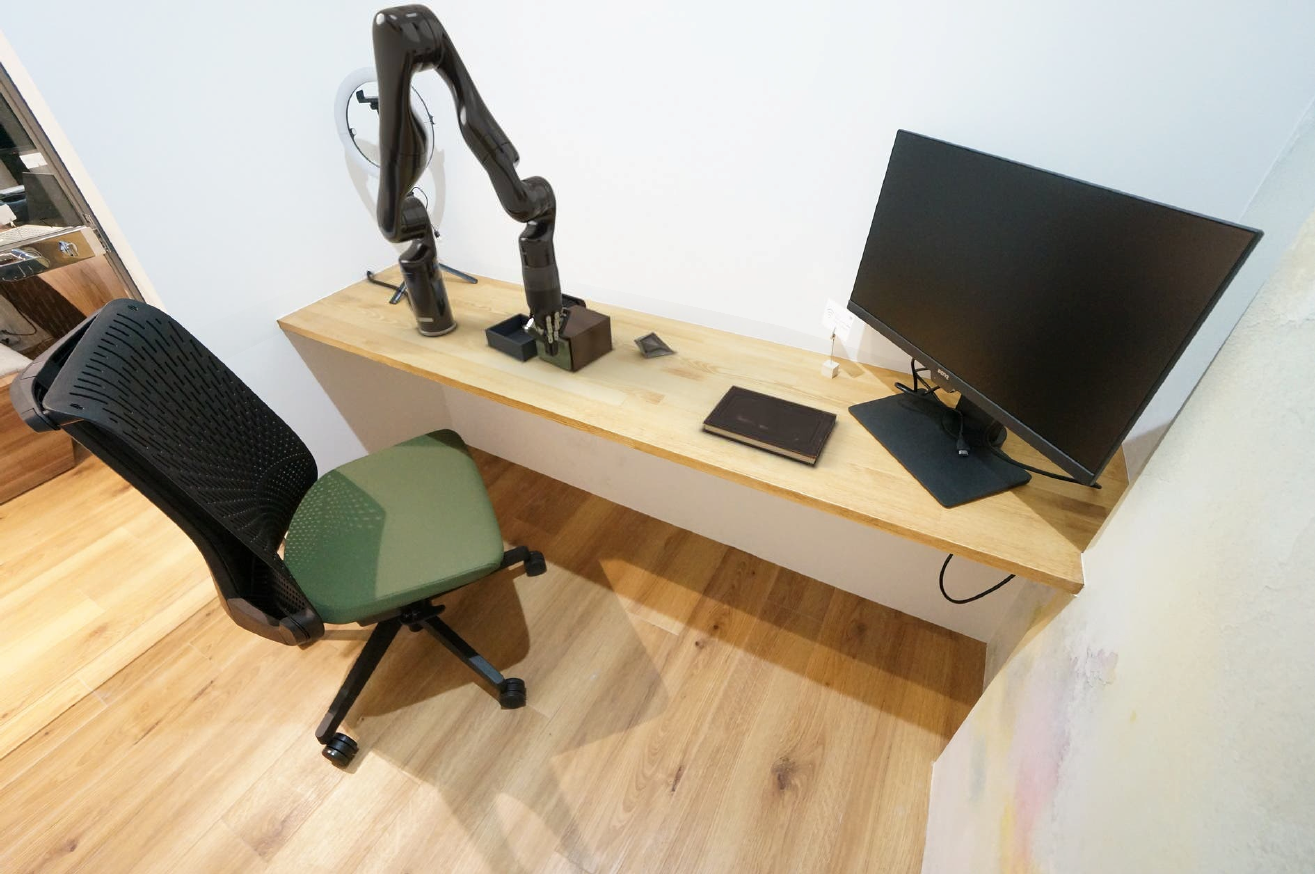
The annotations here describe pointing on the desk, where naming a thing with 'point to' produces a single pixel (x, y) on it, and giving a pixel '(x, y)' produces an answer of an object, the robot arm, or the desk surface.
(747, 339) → the desk surface
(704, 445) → the desk surface
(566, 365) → the drawer
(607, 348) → the cabinet
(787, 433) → the hardcover book
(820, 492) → the desk surface
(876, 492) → the desk surface
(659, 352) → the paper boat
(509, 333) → the box
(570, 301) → the end cap
